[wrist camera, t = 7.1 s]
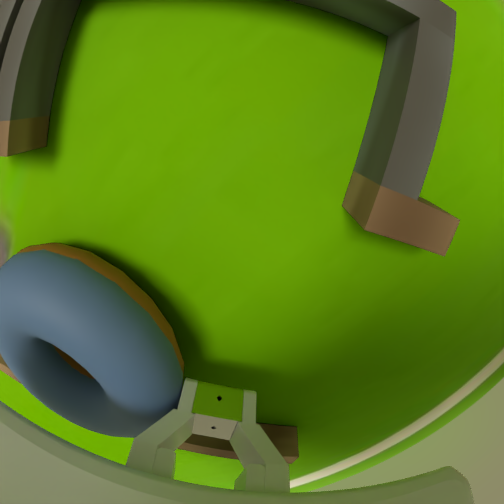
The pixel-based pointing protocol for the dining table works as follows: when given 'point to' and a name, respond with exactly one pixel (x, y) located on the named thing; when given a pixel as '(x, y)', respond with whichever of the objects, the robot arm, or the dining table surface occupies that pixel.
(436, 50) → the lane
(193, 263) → the dining table surface
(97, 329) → the doughnut
